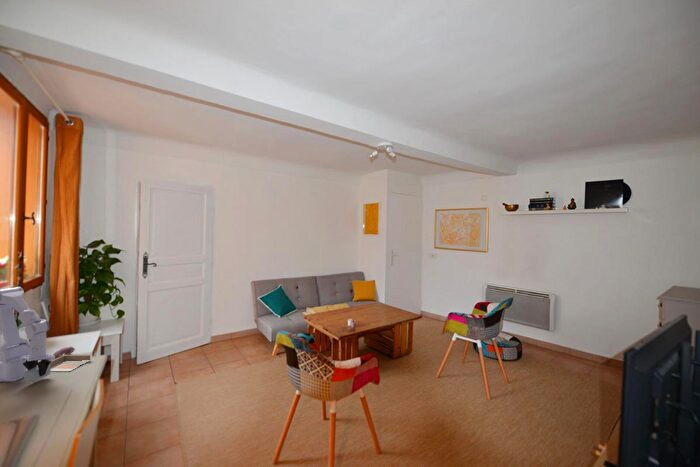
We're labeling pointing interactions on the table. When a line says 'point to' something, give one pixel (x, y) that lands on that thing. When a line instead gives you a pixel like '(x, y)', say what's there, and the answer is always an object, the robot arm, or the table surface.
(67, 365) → the tray
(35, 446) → the table surface
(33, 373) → the slate block
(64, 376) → the table surface
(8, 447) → the table surface
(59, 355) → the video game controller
